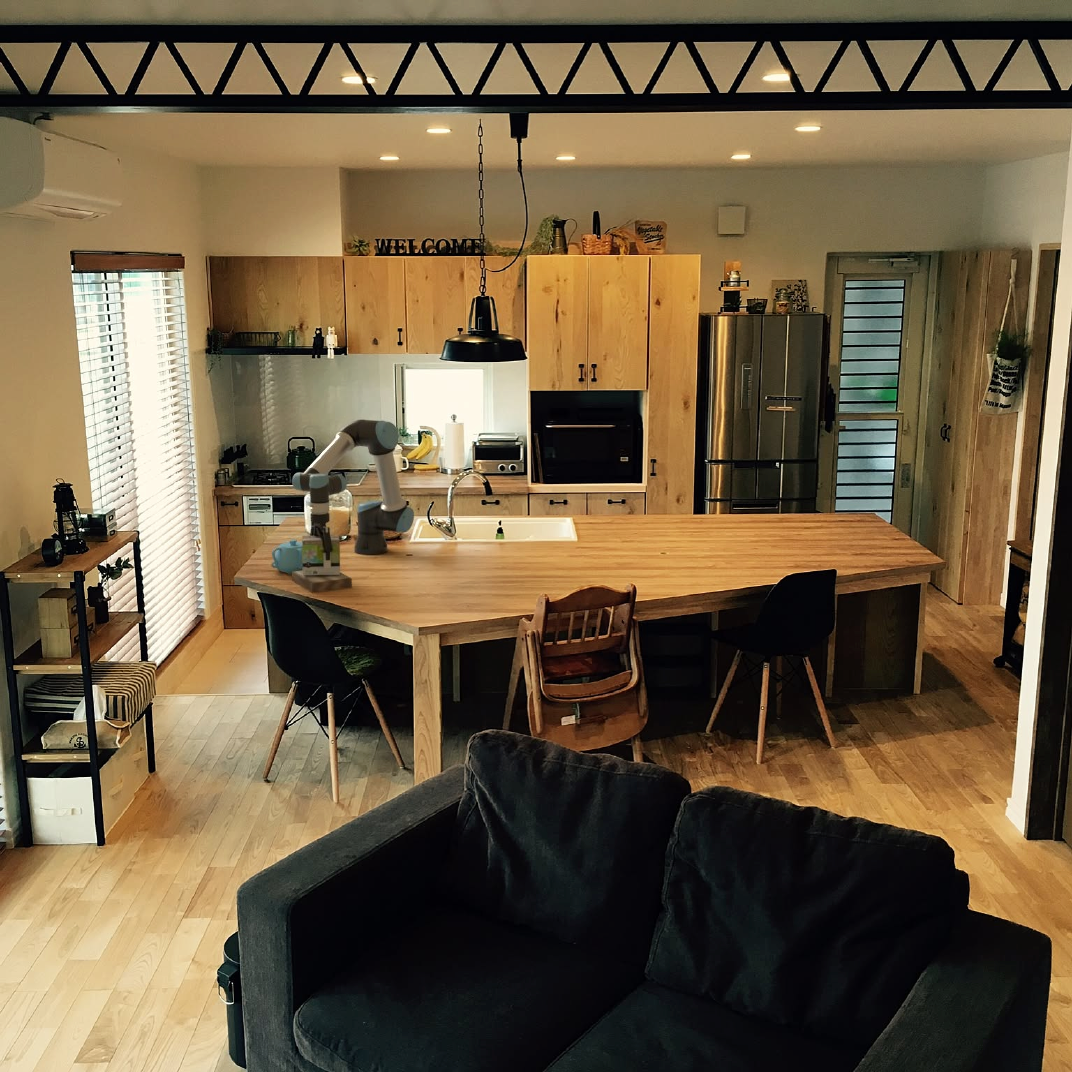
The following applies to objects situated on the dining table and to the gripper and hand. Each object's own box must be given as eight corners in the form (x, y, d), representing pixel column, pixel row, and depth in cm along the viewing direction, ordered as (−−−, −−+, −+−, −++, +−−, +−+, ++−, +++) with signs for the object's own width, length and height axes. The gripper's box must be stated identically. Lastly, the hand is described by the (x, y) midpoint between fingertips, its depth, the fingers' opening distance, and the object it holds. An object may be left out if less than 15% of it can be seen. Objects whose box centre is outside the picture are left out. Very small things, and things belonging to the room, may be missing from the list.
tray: (330, 575, 479) (330, 566, 479) (351, 587, 461) (351, 578, 460) (292, 580, 470) (291, 571, 470) (312, 593, 452) (311, 583, 451)
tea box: (302, 576, 459) (301, 540, 455) (302, 570, 468) (301, 535, 465) (340, 575, 462) (339, 539, 458) (339, 569, 471) (338, 534, 468)
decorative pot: (302, 577, 476) (301, 545, 473) (267, 574, 481) (266, 542, 478) (319, 568, 492) (319, 537, 489) (286, 565, 496) (285, 534, 493)
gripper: (300, 508, 467) (301, 559, 472) (322, 518, 448) (324, 572, 452) (317, 506, 471) (318, 557, 476) (340, 516, 451) (341, 569, 456)
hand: (321, 564), depth 464 cm, fingers closed on tea box, 12 cm apart
